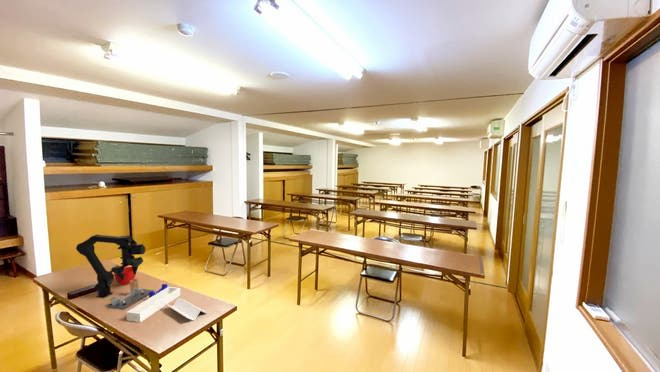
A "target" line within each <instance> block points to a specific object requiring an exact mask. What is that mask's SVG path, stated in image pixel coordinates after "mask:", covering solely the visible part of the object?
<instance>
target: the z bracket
mask: <svg viewBox="0 0 660 372" xmlns="http://www.w3.org/2000/svg"><path fill="white" fill-rule="evenodd" d="M164 304H166V303H164ZM165 306H167V307H169V308H171V310H174V311H175V312H177V313H178V314H180V315H182V316H183V317H185V318H187V319H189V320H190V321H193V320H194V321H195V320H196V318H197V317H198V316H199V314H200V313H201V312H202V313H205V314H207V313H206V312H207V311H205V310H203V309H201V308H200V307H197V306H196V305H194V304H192V303H191V302H190V301H187V300H186V299H183V298H181V297H180V296H178V297H177V298H176V299H175V301H174V303H173V304H172V305H170V304H169V303H168V304H166V305H165Z"/></svg>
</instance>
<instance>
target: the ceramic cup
mask: <svg viewBox="0 0 660 372" xmlns="http://www.w3.org/2000/svg"><path fill="white" fill-rule="evenodd" d="M123 271H124V272H123V280H121V279H120V277H119V276H118V275H117V274H116V273H114V272H113V275H114V280H115V282H116V283H117V284H119V285H120V286H126V285H127V286H128V285H130V281H131V280H133V279H136V278H135V277H136V275H137V273H136V274H134V273H133V269H132V266H127V267H125V268H124V270H123Z"/></svg>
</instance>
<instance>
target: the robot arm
mask: <svg viewBox="0 0 660 372" xmlns="http://www.w3.org/2000/svg"><path fill="white" fill-rule="evenodd" d="M96 243H104V244H105V243H106V244H115V245H116V246H118V247H117V250H120V251H121V256H120V257H119V259H121V262H120V265H115V266H112V268H110V270H109V271H108V270H106V268H105V266H104V264H103V263H102V262H101V260H100V259H99V257H98V256H97V253H95V244H96ZM75 249H76V251H77V252H78V253H79V254H80V255H82V256H83V257H85V259H86V260H87V262H88V263H89V264H90V266H91V268H92V269H93V271H94V272H95V274H96V280H97V283H96V284H95V285H94V286H93V288H94V289H95V290H97V295H96V296H95V297H96V298H99V299H100V298H101V299H104V298H106V297H107V298H108V297H109V296H110V295H112V294H113V292H112V290H111V286H110V285H111V284H113V281H114V280H115V276H114V273H116V274H117V275H118V276H119V277H120V279H121V280H123V272H124V271H123V270H124V268H125V267H132V269H133V273H134V274H136V275H137V271H138V269H139V266H141V265H142V263H143V262H144V259H143V257H142V256H139V257H135V255H144V254H145V253H146V251H147V250H146V247H145V245H144V243H141V244H140V243H139V244H138V242H137V241H136V240H135V239H133V237H132V236H131V235H130V234H129V235H126V234H125V235H120V236H119V235H118V236H117V235H116V236H115V235H104V234H93V235H91V236H90V237H89V238H87V239H86V240H84V241H82V242H81V243H78V244H77V245H76V247H75Z"/></svg>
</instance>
